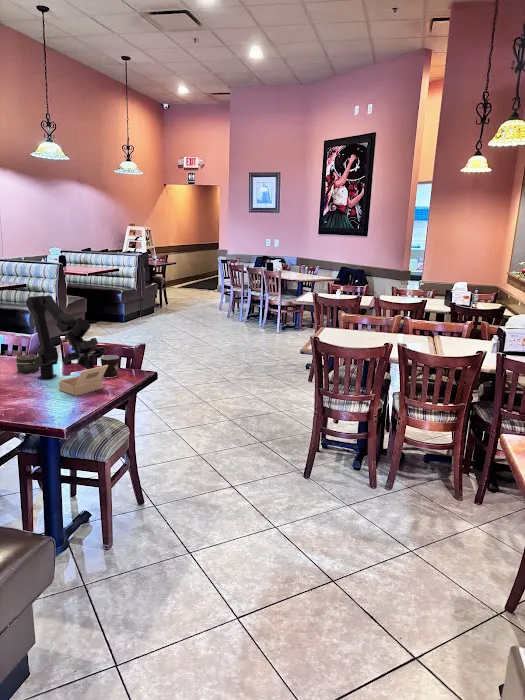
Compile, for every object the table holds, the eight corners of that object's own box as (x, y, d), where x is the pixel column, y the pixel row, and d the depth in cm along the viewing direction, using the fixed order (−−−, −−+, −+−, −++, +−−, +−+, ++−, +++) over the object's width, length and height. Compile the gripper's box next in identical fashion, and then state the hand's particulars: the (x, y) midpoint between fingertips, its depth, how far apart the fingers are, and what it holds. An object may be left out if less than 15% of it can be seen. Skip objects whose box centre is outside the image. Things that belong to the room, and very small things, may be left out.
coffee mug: (108, 380, 240) (107, 360, 238) (97, 376, 245) (96, 357, 243) (128, 375, 249) (127, 356, 247) (117, 372, 254) (116, 353, 252)
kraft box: (58, 390, 224) (57, 381, 223) (86, 382, 236) (86, 374, 235) (74, 396, 217) (74, 387, 216) (103, 388, 229) (103, 379, 228)
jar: (16, 369, 251) (15, 355, 249) (38, 368, 256) (37, 353, 254) (17, 375, 242) (16, 360, 240) (40, 373, 247) (38, 358, 245)
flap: (75, 385, 216) (81, 371, 212) (100, 378, 227) (107, 364, 222) (76, 386, 216) (82, 372, 212) (101, 379, 227) (108, 365, 222)
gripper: (65, 335, 209) (82, 366, 206) (102, 329, 224) (118, 358, 221) (55, 349, 216) (71, 380, 213) (92, 342, 231) (107, 371, 228)
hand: (93, 371), depth 218 cm, fingers closed, pressing on flap
